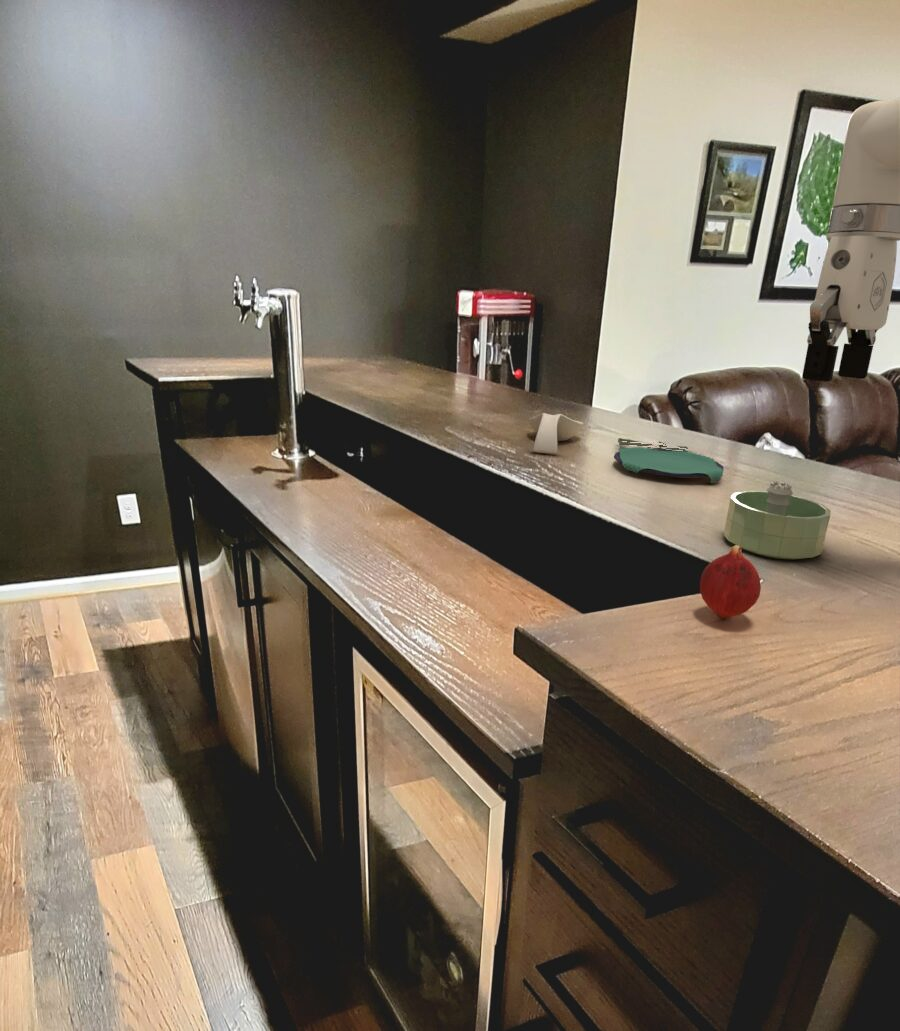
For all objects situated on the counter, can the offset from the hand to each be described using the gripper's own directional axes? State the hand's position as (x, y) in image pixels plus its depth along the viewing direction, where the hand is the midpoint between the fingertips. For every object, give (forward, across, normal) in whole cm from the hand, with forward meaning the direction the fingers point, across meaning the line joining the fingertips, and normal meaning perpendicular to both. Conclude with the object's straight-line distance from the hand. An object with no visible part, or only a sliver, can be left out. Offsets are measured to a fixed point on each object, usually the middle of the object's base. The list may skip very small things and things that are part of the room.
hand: (834, 378), depth 87 cm
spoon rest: (+22, +22, +63) cm, 71 cm away
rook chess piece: (+23, +2, +5) cm, 23 cm away
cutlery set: (+22, +29, +40) cm, 54 cm away
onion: (+24, -25, -4) cm, 35 cm away
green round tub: (+23, +2, +5) cm, 24 cm away
